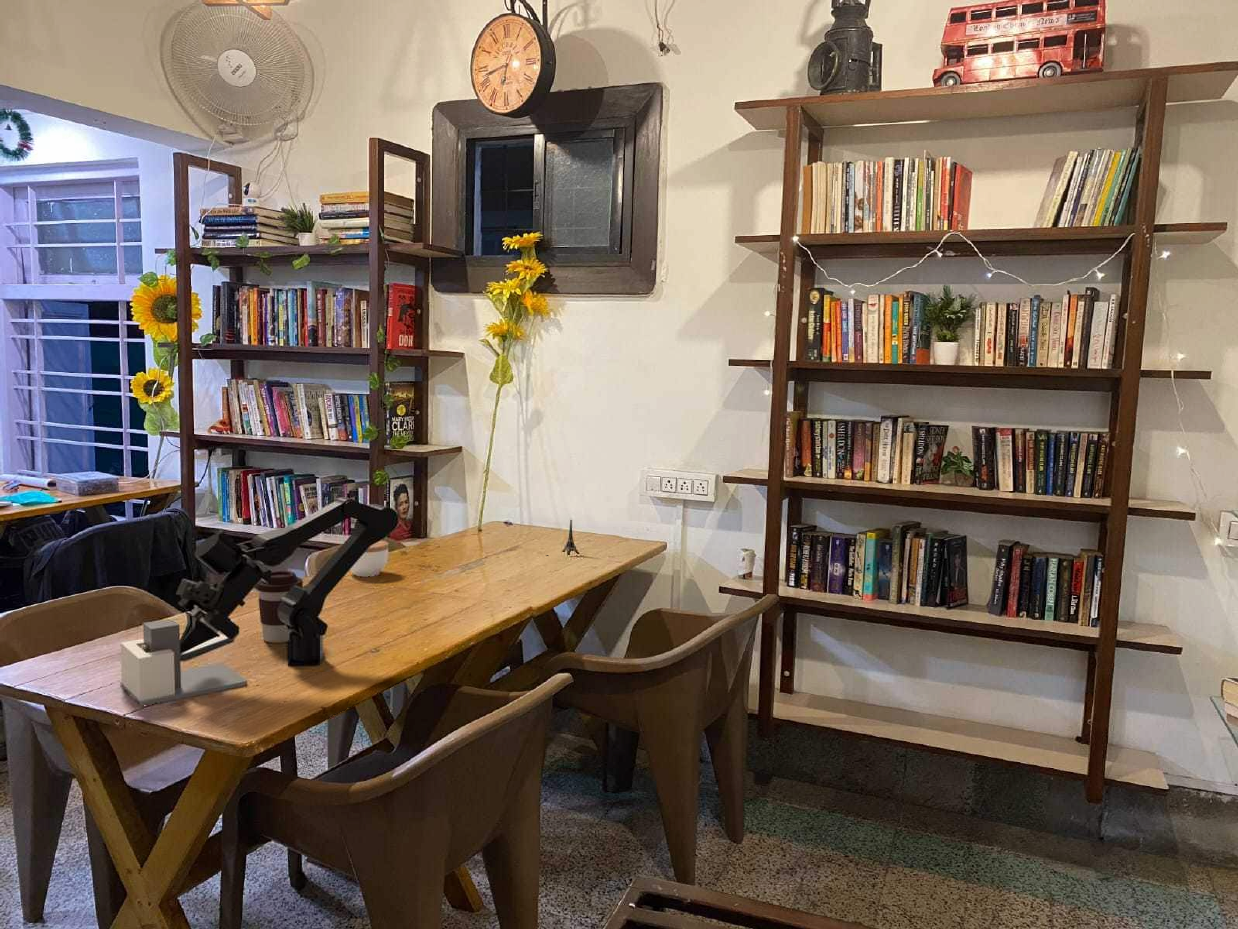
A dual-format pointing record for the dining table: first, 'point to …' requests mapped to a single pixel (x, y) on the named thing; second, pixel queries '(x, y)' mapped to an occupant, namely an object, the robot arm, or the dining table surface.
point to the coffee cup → (275, 604)
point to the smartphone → (205, 647)
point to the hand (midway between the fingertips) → (177, 652)
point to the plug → (164, 641)
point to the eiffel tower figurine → (570, 542)
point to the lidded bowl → (372, 560)
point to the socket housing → (169, 676)
